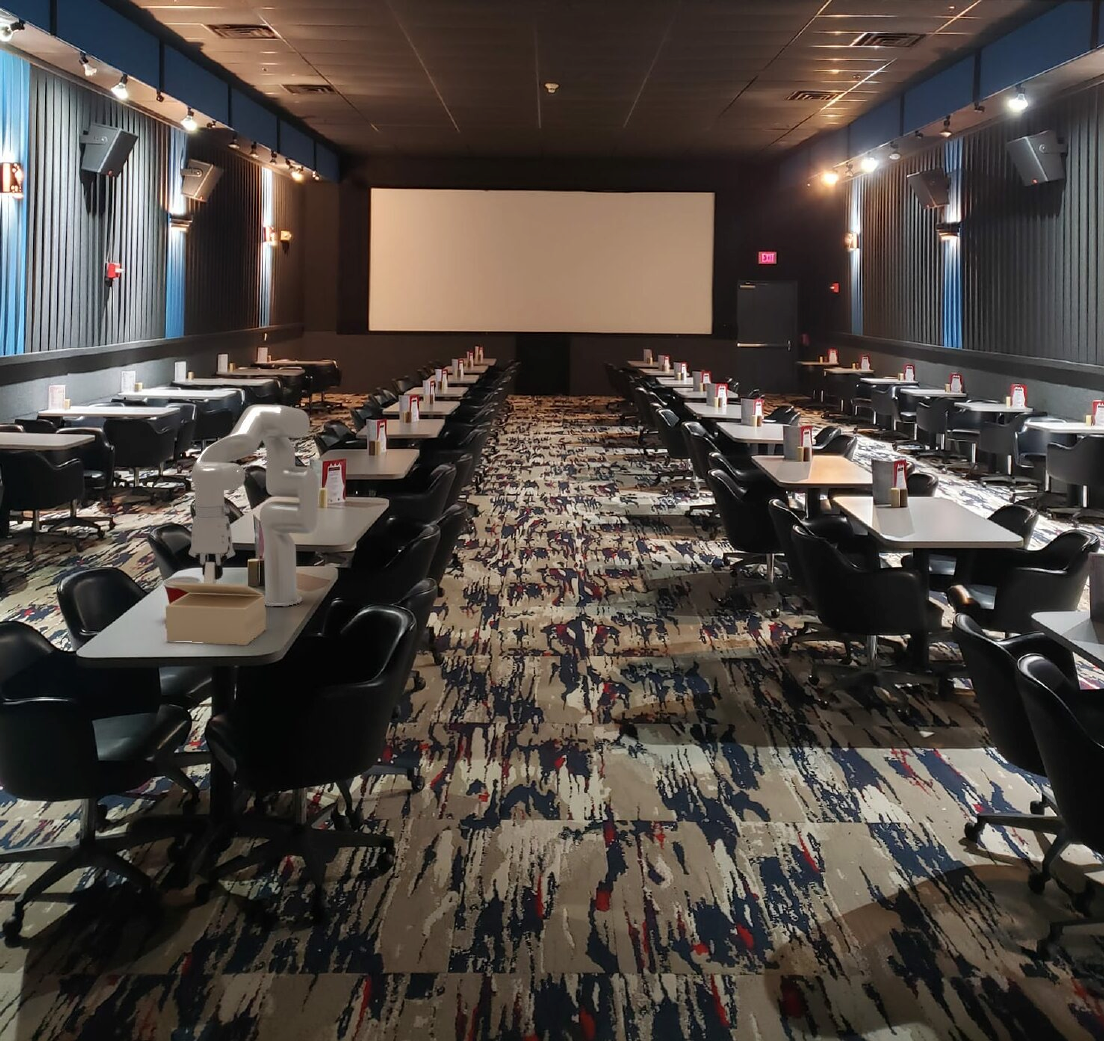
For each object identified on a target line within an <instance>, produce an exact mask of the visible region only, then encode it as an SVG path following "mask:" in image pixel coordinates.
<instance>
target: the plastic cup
mask: <svg viewBox="0 0 1104 1041" xmlns="http://www.w3.org/2000/svg"><path fill="white" fill-rule="evenodd" d="M169 582H185V583H202V579H201V578H199V577H197V576H193V575H189V576H187V575H182V576H174V577H173V576H172V577H169V578H166V579H164V580H163V581H162V585H163V587H164V588H165V591H166V595H167V598H168V599H167V600H168V605H169V604H171V603H172V602H174V601H176V600H178V599H179V598H181V597H183V596H185V595H186V594H188V593H189V592H186V591H184V590H181V589H179V588H176V587H174V586H171V585H169Z"/></svg>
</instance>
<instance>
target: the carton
mask: <svg viewBox="0 0 1104 1041" xmlns="http://www.w3.org/2000/svg"><path fill="white" fill-rule="evenodd" d="M265 596H266V595H264V594H263V595H238V594H209V593H188V594H186V595H185V596H183V597H181V598H179V599H178V600H176V601H174V602H172V603H171V604H169V603H168V604H167V605H166V606H165V624H164V625H165V629H166V642H167V641H192V642H203V643H213V644H212V645H228V644H237V646H247V645H248V644H249V642H250V641H251V642H252V641H254V638H255V639H256V638H257V637H259V636H260V635H261V634H263V631H264V630H265V629H266V628H267V627H266V625H267V623H266V617H267V608H266V606H265ZM266 630H267V629H266ZM266 630H265V631H266ZM265 631H264V632H265ZM258 635H259V636H258ZM251 642H250V643H251Z"/></svg>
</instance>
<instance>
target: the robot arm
mask: <svg viewBox="0 0 1104 1041" xmlns="http://www.w3.org/2000/svg"><path fill="white" fill-rule="evenodd" d="M310 424H311V423H310V417H309V415H308V414H307V412H306V411H304V410H303V409H301V408H300V409H299V408H296V407H292V406H291V407H290V406H286V405H281V404H252V405H250V406H248V407H246V408H245V410H244V411H243V412H242V415H241V416H240V417H239V419H238V421H237V422H236V424H235V426H233V429H232V430H231V431H230V433H229V434H228V435H226V436H225V437H223V438H220V439H219V440H217V441H215V442H213V443H212V444H210V445H208V446H207V447H206V448H205V449H203V450H202V452H201V453H200V454H199V456H198V457H197V459H196V460H195V462H194V464H193V467H192V469H191V473H190V474H191V475H190V477H191V481H192V484H193V485H194V498H195V500H194V503H195V516H194V517H193V520H192V525H191V526H192V528H191V541H190V542H191V546H190V549H189V550H188V555H189V556H191V557H193V558H196V560H197V561H198V562H199V564H200V565H201V570H202V576H204V574H205V565H206V562H210V561H209V555H210V554H212V555H215V563H216V565H215V579H216V580H217V581H218V580H219V579H221V578H222V576H224V568H223V567H224V566H223V564H224V563H225V562H226V561H227V559H229V558H231V557H234V556H235V555H236V552H235V550H234V548H233V535H232V528H231V524H230V519H229V516H227V515H226V514H230V508H228V507H226V505H225V491H235V490H238V489H239V488H241V487H242V486H243V485H244V483H245V480H246V473H245V470H244V468H243V466H241V465H240V464H238V463H235V462H232V461H237V460H241V459H245V458H246V457H251V455H253V454H255V453H256V451H257V450H258V448H259V446H260V445H261V443H262V442H263V444H264V447H265V452H266V466H265V478H266V479H265V487H266V488H265V489H266V491H267V493H268V494H269V495H271V496H273V497H278V498H292V499H293V498H295V499H296V498H297V499H298V500H299V502H297V501H282V500H280V501H279V500H275V501H268V502H266V503H265V504H263V505H262V506H261V508H260V511H259V521H260V522H259V523H260V528H261V531H262V537H263V538H262V539H263V554H264V555H263V558H264V560H263V561H264V586H265V587H264V592H265V605H266V606H267V607H273V606H283V607H290V606H289V605H292V606H294V605H293V604H296V603H299V604H301V603H302V602H303V597H302V596H300V595H298V590H297V589H298V584H297V550H296V543H295V541H294V539H293V538H292V535H290V534H298V535H299V534H301V535H307V534H312V533H314V531H315V530H316V529H317V525H318V519H319V492H320V491H319V490H320V488H319V487H320V486H319V476H318V475H317V472H316V471H315V470H314V469H313V468H311V467H307V466H296V450H295V447H294V444H293V443H292V441H291V439H299V438H300V439H301V438H303V437H306V435H307V434H308V432H309V430H310V426H311V425H310ZM290 438H291V439H290ZM301 601H302V602H301ZM300 602H301V603H300ZM296 605H297V604H296ZM266 606H265V607H266Z"/></svg>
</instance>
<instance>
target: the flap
mask: <svg viewBox="0 0 1104 1041" xmlns="http://www.w3.org/2000/svg"><path fill="white" fill-rule="evenodd" d="M215 565H216V561H214V562H213V561H209V562H206V565H205V574H204V575H203V582H201V583H185V582H169V585H171V586H174V587H176V588H179V589H181V590H184V591H186V592H189V593H209V594H238V595H264V593H263V592H262V591H259V590H257V589H255V588H253V587H251V586H249V585H246V584H242V583H241V584H239V583H237V584H235V583H217V581H218V580H216V579H215Z"/></svg>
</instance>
